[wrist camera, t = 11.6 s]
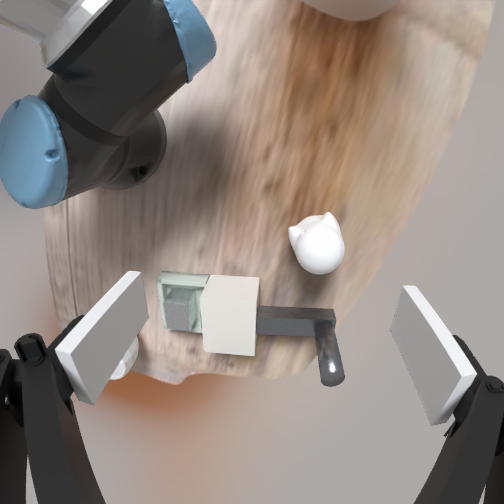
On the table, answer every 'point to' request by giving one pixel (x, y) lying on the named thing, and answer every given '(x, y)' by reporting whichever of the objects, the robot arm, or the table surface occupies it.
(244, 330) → the housing
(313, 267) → the figurine
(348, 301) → the table surface
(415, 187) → the table surface
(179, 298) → the block
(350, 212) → the table surface
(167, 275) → the tray
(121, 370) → the white faceted bowl
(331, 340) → the grey l-shaped bracket
